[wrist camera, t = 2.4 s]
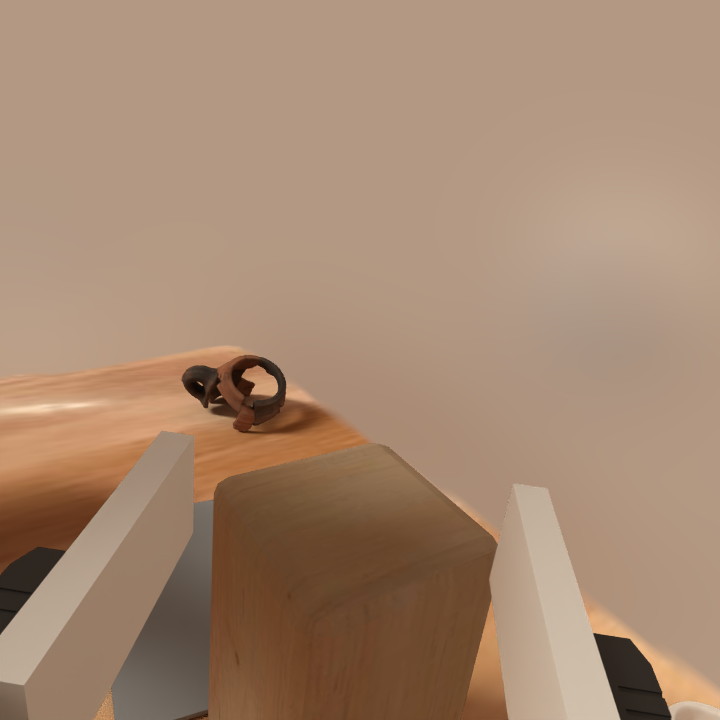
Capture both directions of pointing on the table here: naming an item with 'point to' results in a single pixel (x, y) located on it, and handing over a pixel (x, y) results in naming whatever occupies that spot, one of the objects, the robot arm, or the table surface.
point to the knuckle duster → (693, 711)
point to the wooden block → (344, 592)
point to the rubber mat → (173, 640)
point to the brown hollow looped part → (236, 389)
